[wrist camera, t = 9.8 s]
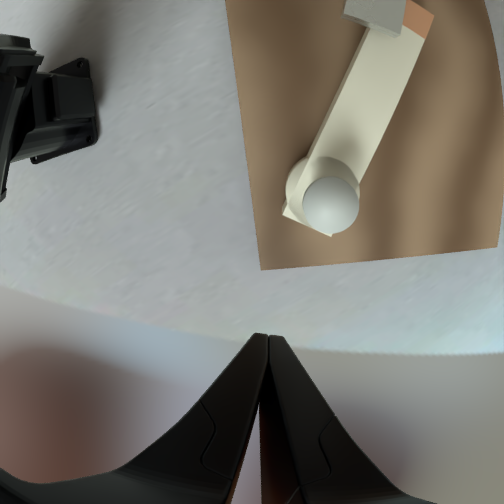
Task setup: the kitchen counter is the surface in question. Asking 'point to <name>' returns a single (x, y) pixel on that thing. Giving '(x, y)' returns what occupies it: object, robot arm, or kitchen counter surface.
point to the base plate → (393, 140)
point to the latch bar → (354, 126)
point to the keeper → (376, 14)
